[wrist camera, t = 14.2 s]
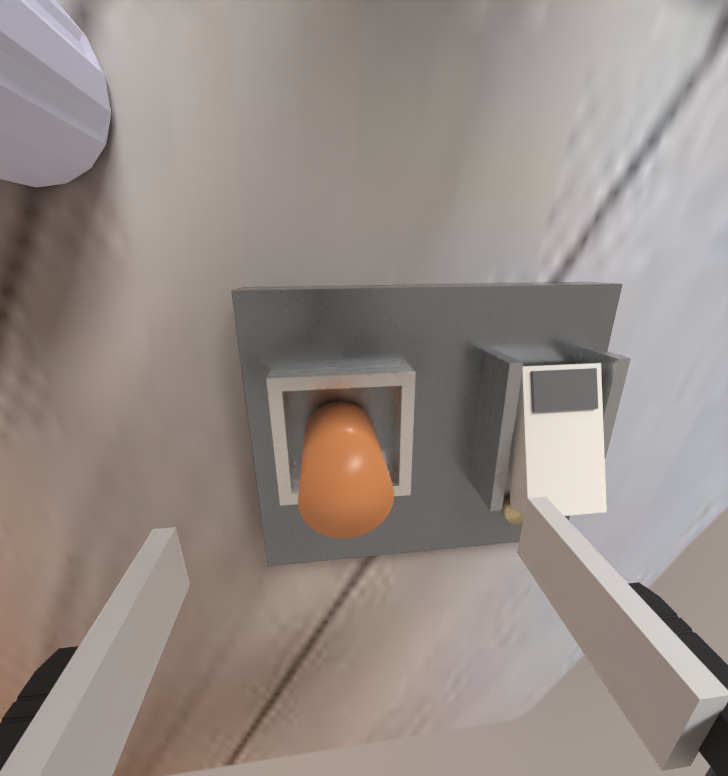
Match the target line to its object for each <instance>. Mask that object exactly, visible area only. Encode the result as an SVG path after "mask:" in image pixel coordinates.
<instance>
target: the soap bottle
mask: <svg viewBox="0 0 728 776" xmlns="http://www.w3.org/2000/svg"><path fill="white" fill-rule="evenodd" d="M110 119H111V109H110V103H109V97H108V91H107V85H106V79H105V75H104V73H103V71H102V69H101V66H100V64H99V62H98V60H97V58H96V56H95V54H94V52H93V50H92V47H91V45H90V43H89V41H88V39H87V37H86V35H85V34H84V33H83V32H82V31H81V29H80V28H79V27H78V26H77V25H76V23H75V22H74V21H73V20H72V19H71V17H70V16H69V15H68V14H67V13H66V11H65V10H64V9H63V8H62V7H61V5H60V4H59V3H58V2H57V1H56V0H0V179H2V180H6V181H10V182H14V183H19V184H23V185H27V186H32V187H44V186H51V185H59V184H66V183H68V182H70V181H71V180H73V179H75V178H76V177H78V176H80V175H81V174H83V173H84V172H86V171H88V170H89V169H91V168H92V166H93V165H94V163H95V162H96V160H97V158H98V157H99V155H100V154H101V152H102V151H103V149H104V147H105V146H106V143H107V137H108V131H109V125H110Z"/></svg>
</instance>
